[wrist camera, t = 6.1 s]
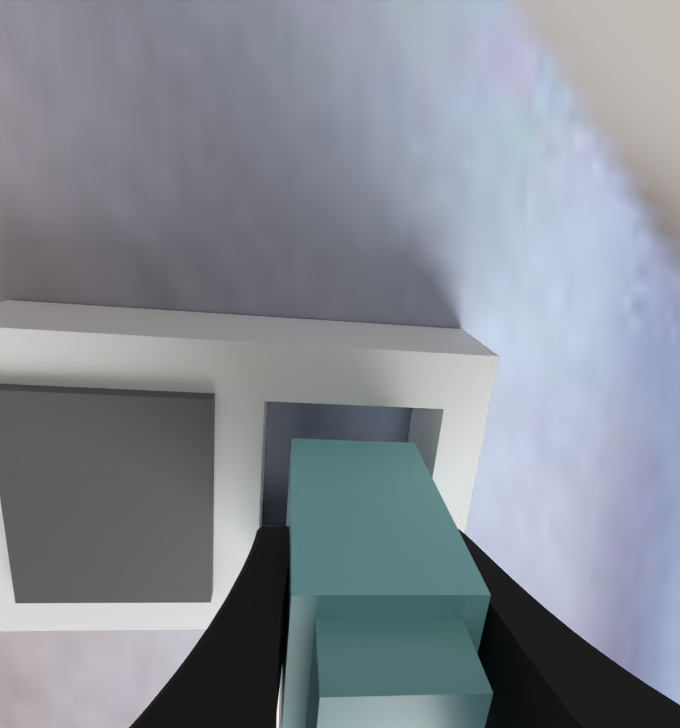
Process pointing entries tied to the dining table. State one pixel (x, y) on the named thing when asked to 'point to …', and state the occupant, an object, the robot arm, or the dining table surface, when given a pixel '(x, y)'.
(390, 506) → the plug
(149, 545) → the panel
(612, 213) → the dining table surface
